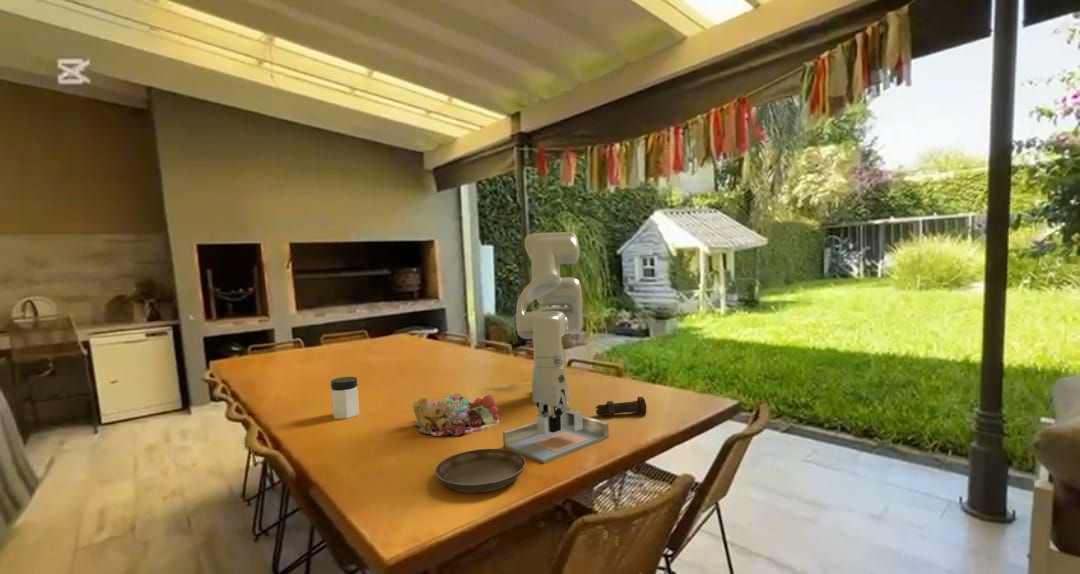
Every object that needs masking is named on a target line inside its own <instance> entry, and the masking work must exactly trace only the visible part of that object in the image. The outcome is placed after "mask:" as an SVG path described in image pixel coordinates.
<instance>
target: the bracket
mask: <svg viewBox="0 0 1080 574" xmlns="http://www.w3.org/2000/svg"><path fill="white" fill-rule="evenodd" d="M555 410H557V408H555ZM582 416H583V411H580V410H575V409H572V408H569V409H568V410H566V411H564V412H563V413H562V416H560V419H561V429H563V428H566V429H569V430H572V431H577V430H580V429H583V421H582ZM551 417H552V414H551V410H549V412H546V413H543V414H537V415H536V421H537V432H538V433H541V434H544V435H546V434H549V433H552V432H551V425H550V418H551Z"/></svg>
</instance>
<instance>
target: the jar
mask: <svg viewBox="0 0 1080 574" xmlns="http://www.w3.org/2000/svg"><path fill="white" fill-rule="evenodd" d="M330 388H331V396H332V397H331V403H332V405H331V406H332V410H333V411H332V413H333V414H332V415H333V419H334V420H335V419H336V420H337V419H338V420H339V419H340V420H343V419H347V418H348V419H349V418H350V419H351V418H353V417H358V416H359V415H360V407H359V406H360V405H359V392H358V390H359V389H358V378H357V377H355V376H343V377H338V378H334V379H332V380H331V381H330Z"/></svg>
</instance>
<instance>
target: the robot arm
mask: <svg viewBox="0 0 1080 574" xmlns="http://www.w3.org/2000/svg"><path fill="white" fill-rule="evenodd" d="M523 243H524V248H525V251H526V253H527V255H528V257H529V259H530V261H531V281H530V282H529V283H528V284H527V285H526V286H525V288H524V289H522V291H521V293H520V294H519V297H518V299H517V301H516V302H517V303H516V312H515V313H516V314H515V315H516V317H515V318H516V319H515V320H516V322H515V323H516V324H515V325H516V332H517V334H518V337H520V338H522V339H525V340H528V339H529V340H531V339H532V341H533V342H532V344H533V364H534V365H533V370H532V381H531V382H532V383H531V384H532V385H531V388H532V399H531V400H532V402H533V403H534V404H535V405H536V407H537V409H538V415H540V414H543V413H546V412H549V411H551V414H552V417H551V418H550V425H551V432H552V433H554V432H556V431H559V430H561V419H560V416H562V413H563V412H564V411H566V410H568V409H570V407H569V403H570V394H571V393H570V390H569V383H568V382H569V381H568V377H567V371H566V369H565V358H564V357H565V356H564V345H563V342H562V341H563V340H562V337H564V336H565V335H573V334H574V335H575V334H578V333H580V332H581V331H582V329H583V324H584V323H583V321H584V319H583V317H584V316H583V291H582V285H581V282H580V280H579V279H577V278H575V277H570V276H569V277H567V276H566V277H561V267H560V266H561V265H573V264H577V262H578V261H579V258H580V245H579V240H578V236H577V235H576V234H575V232H572V231H566V232H564V231H560V232H537V233H536V232H535V233H532V234H531V233H530V234H528V235H526V237H525V238H524V242H523ZM535 300H536V301H537V303H538V304H540V305H541V306H555V307H542V308H538V309H537V310H535V311H527V309H528V307H529V305H530V304H531V303H532V302H534V301H535ZM558 306H559V307H558ZM561 306H563V307H561ZM556 409H557V410H556Z"/></svg>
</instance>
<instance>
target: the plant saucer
mask: <svg viewBox="0 0 1080 574" xmlns="http://www.w3.org/2000/svg"><path fill="white" fill-rule="evenodd" d="M526 463H527V462H526V458H525V456H524V455H523V456H522V454H520V453H517V452H515V451H512V450H509V449H501V448H498V449H497V448H482V449H481V448H480V449H474V450H467V451H463V452H460V453H456V454H454V455H451V456H449V457H447V458H445V459H443V460H442V461H441V462H439V464H438V465H437V466H436V467H435V475H436V476H437V478H438V479H439V480H440V482H441V483H442V484H443V485H445V486H446V487H448V488H450V489H451V490H454V491H456V492H461V493H465V494H466V493H467V494H481V493H487V492H494V491H496V490H501V489H503V488H505V487H506V486H509V485H511V484H512V483H513V482H514V481H515V480H516V479H518V477H520V475H521V473H522V472H523V470H524V469H525V467H526Z"/></svg>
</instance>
